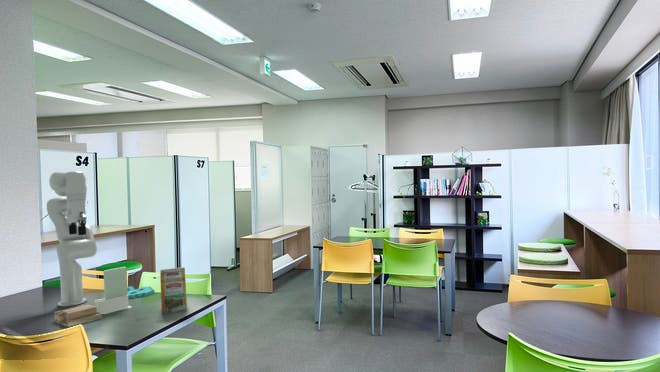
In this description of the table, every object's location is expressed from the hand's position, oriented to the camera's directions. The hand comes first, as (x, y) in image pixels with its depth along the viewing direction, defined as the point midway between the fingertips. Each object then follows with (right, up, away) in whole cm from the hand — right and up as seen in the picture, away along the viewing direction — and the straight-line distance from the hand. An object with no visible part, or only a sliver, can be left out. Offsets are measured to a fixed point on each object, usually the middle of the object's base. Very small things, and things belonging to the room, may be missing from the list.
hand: (77, 234), depth 201 cm
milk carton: (+46, -35, -3) cm, 58 cm away
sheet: (+18, -34, 0) cm, 39 cm away
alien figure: (+12, -36, +31) cm, 49 cm away
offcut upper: (+12, -32, -19) cm, 39 cm away
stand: (+18, -36, -3) cm, 40 cm away
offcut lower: (+12, -34, -19) cm, 41 cm away
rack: (+11, -36, -18) cm, 41 cm away
